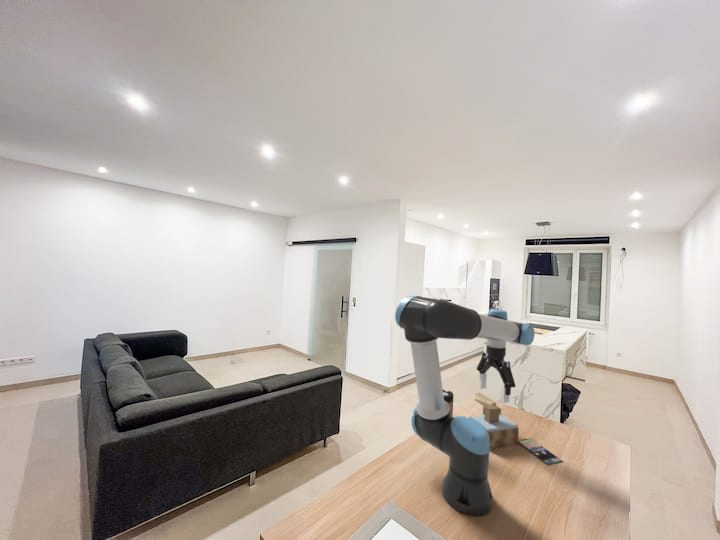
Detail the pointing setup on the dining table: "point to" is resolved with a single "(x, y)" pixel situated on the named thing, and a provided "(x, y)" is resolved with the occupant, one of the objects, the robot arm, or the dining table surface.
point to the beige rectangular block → (483, 400)
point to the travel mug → (449, 400)
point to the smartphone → (539, 451)
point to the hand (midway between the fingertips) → (493, 394)
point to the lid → (494, 420)
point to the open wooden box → (502, 436)
